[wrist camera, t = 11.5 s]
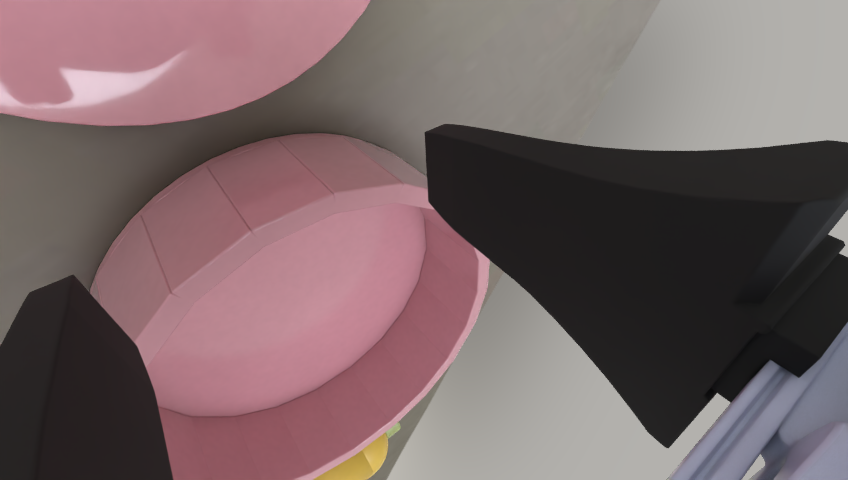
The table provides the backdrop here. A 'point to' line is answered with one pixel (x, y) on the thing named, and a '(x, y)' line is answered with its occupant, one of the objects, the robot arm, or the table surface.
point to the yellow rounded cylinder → (362, 460)
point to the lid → (158, 55)
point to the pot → (290, 304)
